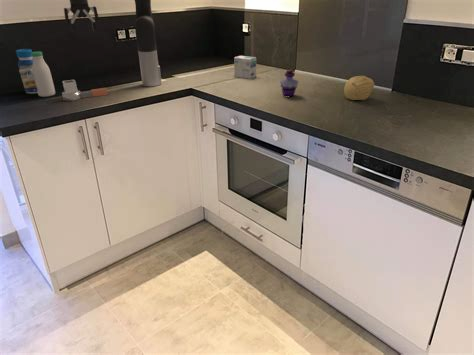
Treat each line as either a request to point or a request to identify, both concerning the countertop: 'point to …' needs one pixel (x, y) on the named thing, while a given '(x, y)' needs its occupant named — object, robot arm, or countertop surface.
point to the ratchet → (84, 94)
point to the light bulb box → (245, 67)
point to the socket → (70, 86)
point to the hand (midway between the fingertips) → (84, 31)
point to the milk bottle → (42, 75)
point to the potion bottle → (289, 84)
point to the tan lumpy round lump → (358, 88)
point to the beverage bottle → (26, 70)
